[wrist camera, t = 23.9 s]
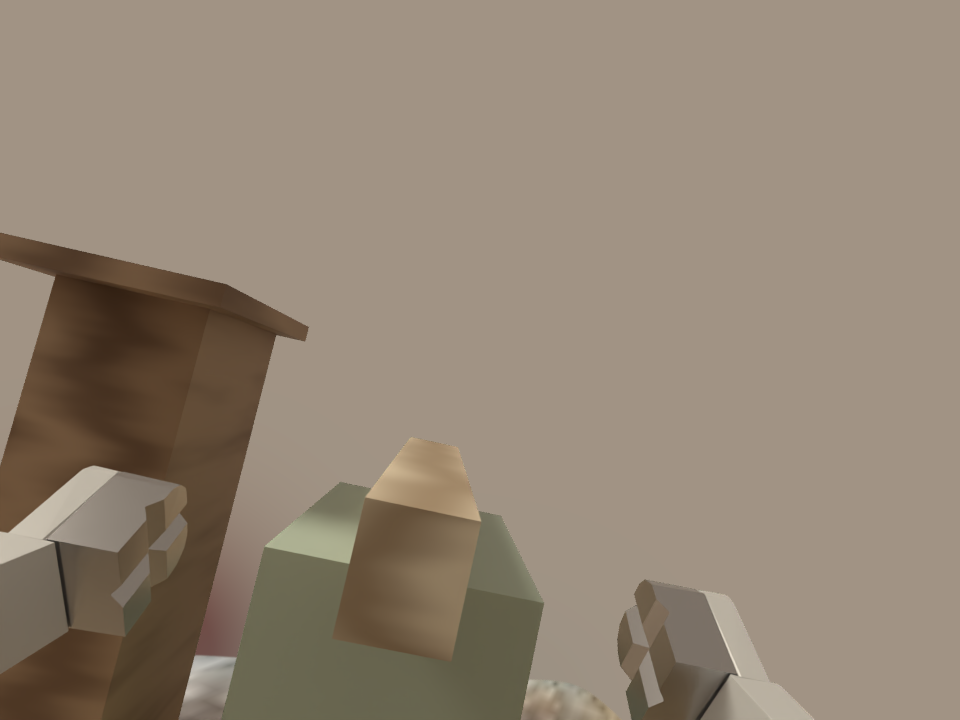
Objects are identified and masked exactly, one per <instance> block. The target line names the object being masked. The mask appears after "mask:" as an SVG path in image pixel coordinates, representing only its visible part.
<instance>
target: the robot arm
mask: <svg viewBox="0 0 960 720" xmlns="http://www.w3.org/2000/svg"><path fill="white" fill-rule="evenodd" d="M186 504H187V494H186V488H185V487H183V486H182V485H179V484H175V483H171V482H166V481H162V480H157V479H153V478H149V477H144V476H140V475H136V474H131V473H127V472H120V471H115V470H111V469H107V468H103V467H98V466H91V467H88V468H85V469H83V470H81V471H80V472H79V473H78V474H76V475H75V476H74V477H73V478H72V479H71V480H69V481H68V482H67V483H66V484H65V485H64V486H62V487H61V488H60V489H59V490H58V491H57V492H55V493H54V494H53V495H52V496H51V497H50V498H48V499H47V500H46V501H45V502H44V503H42V504H41V505H40V506H39V507H38V508H37V509H35V510H34V511H33V512H32V513H31V514H30V515H28V516H27V517H26V518H25V519H24V520H23V521H21V522H20V523H19V524H18V525H17V526H16V527H14V528H13V529H12V530H11V531H10V532H8V533H6V532H0V674H1V673H3V672H5V671H6V670H8V669H9V668H11V667H12V666H14V665H16V664H17V663H19V662H20V661H22V660H24V659H25V658H27V657H28V656H30V655H32V654H33V653H35V652H36V651H38V650H39V649H41V648H43V647H44V646H46V645H47V644H49V643H51V642H52V641H54V640H55V639H57V638H59V637H60V636H62V635H63V634H65V633H66V632H68V628H72V629H79V630H85V631H91V632H98V633H104V634H111V635H117V636H123V637H126V635H127V634H128V632H129V631H130V630H131V628H132V627H133V625H134V624H135V623H136V621H137V620H138V619H139V617H140V616H141V614H142V613H143V612H144V610H145V609H146V608H147V606H148V605H149V603H150V602H151V587H152V586H154V585H156V584H158V583H160V582H162V581H164V580H166V579H167V578H168V577H169V575H170V574H171V572H172V571H173V569H174V568H175V567H176V565H177V563H178V561H179V559H180V556H181V554H182V552H183V550H184V547H185V543H186V538H187V522H186V521H185V519H184V518H183V517H182V515H181V514H180V512H181V510H182V509H183V508H184V507H185V505H186ZM634 595H635V599H636V603H637V605H635V606H634V607H632V608H630V609H628V610H627V611H625V614H624V616H623V618H622V620H621V623H620V626H619V633H618V639H617V640H618V655H619V661H620V666H621V668H622V669H623V670H624V672H625V673H626V674H627V675H628V677H629V678H630V679H631V680H632V681H631V683H630V685H629V687H628V689H627V691H626V695H627V700H628V704H629V709H630V714H631V719H632V720H815V719H814V718H813V717H811V715H810V714H809V713H808V712H807V711H806V710H805V709H803V708H802V706H801V705H799V703H797V702H796V700H794V699H793V698H792V697H791V696H790V695H789V694H788V693H787V692H786V691H785V690H784V689H783V688H782V687H781V686H780V685H779V684H776V683H771V682H770V681H769V678H768V676H767V674H766V672H765V670H764V668H763V666H762V664H761V661H760V659H759V657H758V655H757V653H756V651H755V648H754V646H753V644H752V642H751V640H750V638H749V635H748V633H747V631H746V629H745V627H744V625H743V623H742V621H741V618H740V616H739V614H738V612H737V610H736V608H735V605H734V603H733V601H732V600H731V599H730V598H729V597H728V596H727V595H723V594H718V593H713V592H707V591H702V590H695V589H691V588H686V587H681V586H676V585H670V584H665V583H661V582H655V581H650V580H644V581H642V582H641V583H640V584H639V586H638V588H637V589H636V591H635V594H634Z"/></svg>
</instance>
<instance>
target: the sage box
mask: <svg viewBox="0 0 960 720" xmlns="http://www.w3.org/2000/svg"><path fill="white" fill-rule="evenodd" d="M370 490H371V488H366V487H362V486H357V485H352V484H347V483H342V482H340V483H339V484H338V485H337V486H335V487H334V488H333V489H332V490H331V491H329V492H328V493H327V494H326V495H325V496H323V497H322V498H321V499H320V500H319V501H318V502H316V503H315V504H314V505H313V506H312V507H310V508H309V509H308V510H307V511H306V512H305V513H303V514H302V515H301V516H300V517H299V518H297V519H296V520H295V521H294V522H293V523H292V524H290V525H289V526H288V527H287V528H286V529H284V531H282V532H281V533H280V534H279V535H277V536H276V537H275V538H274V539H273V540H272V541H270V542H269V543H268V544H267V545H266V546H265V547H264V550H263V554H262V558H261V562H260V566H259V570H258V575H257V579H256V583H255V586H254V591H253V595H252V599H251V603H250V607H249V611H248V615H247V619H246V623H245V627H244V631H243V635H242V639H241V643H240V647H239V651H238V655H237V659H236V663H235V667H234V671H233V675H232V679H231V683H230V687H229V691H228V695H227V699H226V703H225V707H224V711H223V715H222V720H520V719H521V714H522V709H523V704H524V699H525V694H526V689H527V684H528V680H529V674H530V670H531V665H532V660H533V654H534V650H535V645H536V640H537V635H538V630H539V626H540V621H541V616H542V610H543V606H544V602H543V600H542V598H541V596H540V594H539V592H538V590H537V588H536V586H535V584H534V582H533V580H532V578H531V576H530V574H529V572H528V570H527V568H526V566H525V564H524V562H523V560H522V557H521V556H520V554H519V552H518V550H517V547H516V545H515V543H514V541H513V539H512V537H511V535H510V533H509V531H508V529H507V527H506V525H505V523H504V521H503V519H502V517H501V516H499V515H494V514H490V513H485V512H480V511H478V512H479V515H480V519H481V526H480V531H479V535H478V540H477V544H476V549H475V554H474V558H473V563H472V568H471V572H470V577H469V582H468V586H467V591H466V595H465V600H464V605H463V609H462V614H461V619H460V623H459V628H458V632H457V637H456V642H455V646H454V651H453V656H452V660H451V662H449V661H443V660H438V659H433V658H428V657H423V656H418V655H412V654H407V653H402V652H397V651H392V650H387V649H382V648H376V647H371V646H366V645H361V644H356V643H351V642H346V641H340V640H335V639H332V636H333V632H334V627H335V623H336V619H337V615H338V610H339V606H340V602H341V598H342V593H343V589H344V585H345V581H346V576H347V572H348V568H349V564H350V559H351V555H352V551H353V546H354V542H355V538H356V534H357V529H358V525H359V521H360V517H361V512H362V508H363V504H364V500H365V497H366V495H367V494H368V493H369V491H370Z"/></svg>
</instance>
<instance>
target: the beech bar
mask: <svg viewBox="0 0 960 720" xmlns="http://www.w3.org/2000/svg"><path fill="white" fill-rule="evenodd" d="M480 526H481V519H480V515H479V512H478V509H477V506H476V503H475V500H474V497H473V494H472V491H471V487H470V484H469V481H468V477H467V475H466V471H465V468H464V465H463V462H462V459H461V455H460V452H459V449H458V447H455V446H450V445H446V444H441V443H436V442H432V441H427V440H422V439H417V438H413V437H411V438H410V439H409V440H408V441H407V443H406V444H405V445H404V447H403V448H402V449H401V451H400V452H399V453H398V455H397V456H396V457H395V459H394V460H393V461H392V463H391V464H390V465H389V466H388V468H387V469H386V471H385V472H384V473H383V474H382V476H381V477H380V478H379V480H378V481H377V482H376V484H375V485H374V486H373V487H372V489H371V490H370V491H369V493H368V494H367V495H366V497H365V500H364V504H363V508H362V512H361V517H360V521H359V525H358V529H357V534H356V538H355V542H354V546H353V551H352V555H351V559H350V564H349V568H348V572H347V576H346V581H345V585H344V589H343V593H342V598H341V602H340V606H339V610H338V615H337V619H336V623H335V627H334V632H333V636H332V639H335V640H340V641H346V642H351V643H356V644H361V645H366V646H371V647H376V648H382V649H387V650H392V651H397V652H402V653H407V654H412V655H418V656H423V657H428V658H433V659H438V660H443V661H449V662H451V660H452V656H453V651H454V646H455V642H456V637H457V632H458V628H459V623H460V619H461V614H462V609H463V605H464V600H465V595H466V591H467V586H468V582H469V577H470V572H471V568H472V563H473V558H474V554H475V549H476V544H477V540H478V535H479V531H480Z"/></svg>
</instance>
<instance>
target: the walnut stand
mask: <svg viewBox="0 0 960 720" xmlns="http://www.w3.org/2000/svg"><path fill="white" fill-rule="evenodd" d="M0 260H2V261H6V262H9V263H12V264H15V265H19V266H22V267H25V268H28V269H32V270H35V271H38V272H41V273H45V274H48V275H51V276H55V281H54V284H53V287H52V290H51V294H50V297H49V301H48V304H47V308H46V311H45V315H44V318H43V322H42V325H41V328H40V332H39V335H38V338H37V342H36V345H35V349H34V352H33V356H32V359H31V363H30V366H29V369H28V373H27V377H26V380H25V383H24V386H23V390H22V393H21V397H20V400H19V404H18V407H17V411H16V414H15V417H14V421H13V425H12V428H11V432H10V435H9V438H8V441H7V445H6V449H5V452H4V456H3V459H2V462H1V465H0V532H6V533H8V532H10V531H11V530H12V529H13V528H14V527H16V526H17V525H18V524H19V523H20V522H21V521H23V520H24V519H25V518H26V517H27V516H28V515H30V514H31V513H32V512H33V511H34V510H35V509H37V508H38V507H39V506H40V505H41V504H42V503H44V502H45V501H46V500H47V499H48V498H50V497H51V496H52V495H53V494H54V493H55V492H57V491H58V490H59V489H60V488H61V487H62V486H64V485H65V484H66V483H67V482H68V481H69V480H71V479H72V478H73V477H74V476H75V475H76V474H78V473H79V472H80V471H81V470H83V469H85V468H88V467H91V466H98V467H103V468H107V469H111V470H115V471H120V472H127V473H131V474H136V475H140V476H144V477H149V478H153V479H157V480H162V481H166V482H171V483H175V484H179V485H182V486H183V487H185V488H186V494H187V504H186V505H185V507H184V508H183V509H182V510H181V512H180V514H181V515H182V517H183V518H184V519H185V521H186V522H187V538H186V543H185V547H184V550H183V552H182V554H181V556H180V559H179V561H178V563H177V565H176V567H175V568H174V569H173V571H172V572H171V574H170V575H169V577H168V578H167V579H166V580H164V581H162V582H160V583H158V584H156V585H154V586H152V587H151V602H150V603H149V605H148V606H147V608H146V609H145V610H144V612H143V613H142V614H141V616H140V617H139V619H138V620H137V621H136V623H135V624H134V625H133V627H132V628H131V630H130V631H129V632H128V634H127V635H126V637H123V636H117V635H111V634H104V633H98V632H91V631H85V630H79V629H72V628H68V632H66V633H65V634H63V635H62V636H60V637H59V638H57V639H55V640H54V641H52V642H51V643H49V644H47V645H46V646H44V647H43V648H41V649H39V650H38V651H36V652H35V653H33V654H32V655H30V656H28V657H27V658H25V659H24V660H22V661H20V662H19V663H17V664H16V665H14V666H12V667H11V668H9V669H8V670H6V671H5V672H3V673H1V674H0V720H178V719H179V715H180V711H181V707H182V703H183V699H184V695H185V691H186V687H187V683H188V680H189V676H190V672H191V668H192V664H193V660H194V656H195V652H196V648H197V644H198V640H199V636H200V632H201V628H202V624H203V621H204V617H205V613H206V609H207V605H208V601H209V597H210V593H211V589H212V585H213V581H214V577H215V573H216V569H217V565H218V561H219V557H220V553H221V550H222V546H223V541H224V538H225V534H226V530H227V526H228V522H229V518H230V514H231V510H232V506H233V502H234V499H235V494H236V491H237V487H238V483H239V479H240V475H241V471H242V467H243V463H244V459H245V455H246V451H247V447H248V444H249V440H250V436H251V432H252V428H253V424H254V420H255V416H256V412H257V408H258V404H259V400H260V396H261V392H262V389H263V385H264V381H265V377H266V373H267V369H268V365H269V361H270V357H271V353H272V349H273V345H274V341H275V337H276V335H279V336H283V337H288V338H292V339H297V340H301V341H305V340H306V336H307V332H308V328H309V327H308V326H306V325H303V324H302V323H300V322H298V321H296V320H294V319H292V318H290V317H288V316H286V315H284V314H282V313H281V312H279V311H277V310H275V309H273V308H271V307H269V306H267V305H265V304H263V303H261V302H259V301H257V300H255V299H253V298H252V297H249V296H248V295H246V294H244V293H242V292H240V291H238V290H236V289H234V288H232V287H231V286H229V285H227V284H223V283H218V282H214V281H209V280H205V279H201V278H196V277H192V276H188V275H183V274H179V273H174V272H170V271H166V270H161V269H157V268H152V267H148V266H144V265H139V264H135V263H131V262H126V261H122V260H117V259H113V258H109V257H104V256H100V255H96V254H91V253H87V252H82V251H78V250H73V249H69V248H65V247H60V246H56V245H52V244H47V243H43V242H39V241H34V240H30V239H25V238H21V237H16V236H12V235H8V234H4V233H0Z"/></svg>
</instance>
